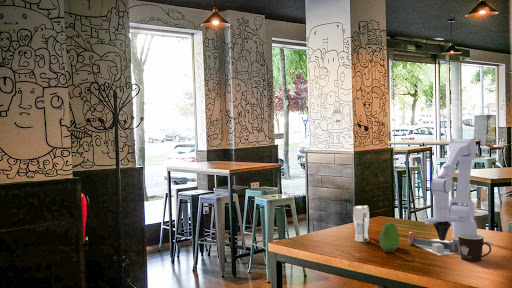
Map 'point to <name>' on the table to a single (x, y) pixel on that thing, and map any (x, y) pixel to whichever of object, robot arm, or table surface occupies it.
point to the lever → (451, 246)
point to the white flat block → (438, 248)
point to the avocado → (389, 237)
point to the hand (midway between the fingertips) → (442, 240)
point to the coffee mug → (471, 247)
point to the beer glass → (361, 223)
